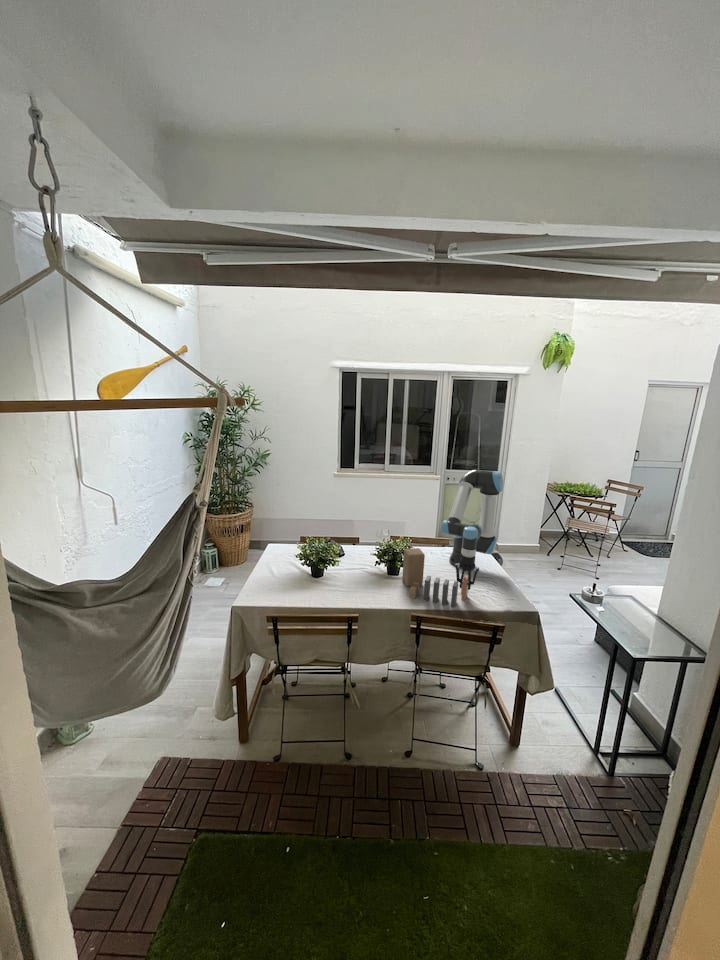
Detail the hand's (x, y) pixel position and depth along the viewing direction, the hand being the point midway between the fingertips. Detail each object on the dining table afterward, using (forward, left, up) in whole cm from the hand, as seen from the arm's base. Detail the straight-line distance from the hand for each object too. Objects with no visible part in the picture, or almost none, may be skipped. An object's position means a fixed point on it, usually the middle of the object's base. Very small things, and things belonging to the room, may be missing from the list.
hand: (464, 593), depth 228 cm
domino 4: (+10, -4, -2) cm, 11 cm away
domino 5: (0, 0, -2) cm, 2 cm away
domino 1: (+10, -19, -2) cm, 22 cm away
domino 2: (+10, -14, -2) cm, 17 cm away
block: (-4, -31, -2) cm, 31 cm away
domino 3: (+10, -9, -2) cm, 14 cm away
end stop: (+10, -26, -2) cm, 28 cm away
